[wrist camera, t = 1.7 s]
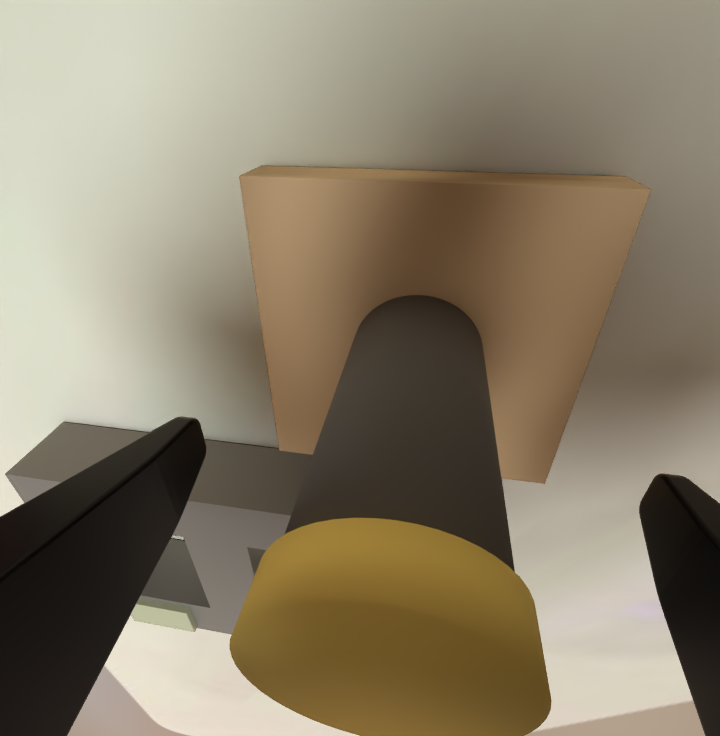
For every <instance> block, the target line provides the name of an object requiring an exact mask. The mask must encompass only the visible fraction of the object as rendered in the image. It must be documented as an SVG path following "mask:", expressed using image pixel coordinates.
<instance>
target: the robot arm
mask: <svg viewBox="0 0 720 736" xmlns="http://www.w3.org/2000/svg"><path fill="white" fill-rule="evenodd" d="M205 456H206V443H205V439H204V436H203V432H202V429H201V425H200V422H199V421H198V420H197V419H195V418H189V417H177V418H174V419H173V420H171V421H169V422H167V423H166V424H164V425H162V426H160V427H158V428H157V429H155V430H153V431H151V432H150V433H148V434H146V435H144V436H142V437H141V438H139V439H137V440H135V441H134V442H132V443H130V444H128V445H127V446H125V447H123V448H121V449H119V450H118V451H116V452H114V453H112V454H111V455H109V456H107V457H105V458H104V459H102V460H100V461H98V462H96V463H95V464H93V465H91V466H89V467H88V468H86V469H84V470H82V471H81V472H79V473H77V474H75V475H73V476H72V477H70V478H68V479H66V480H65V481H63V482H61V483H59V484H57V485H56V486H54V487H52V488H50V489H49V490H47V491H45V492H43V493H42V494H40V495H38V496H36V497H34V498H33V499H31V500H29V501H27V502H26V503H24V504H22V505H20V506H18V507H17V508H15V509H13V510H11V511H10V512H8V513H6V514H4V515H3V516H1V517H0V736H67V735H68V733H69V731H70V729H71V727H72V725H73V723H74V721H75V719H76V718H77V716H78V714H79V712H80V710H81V708H82V706H83V704H84V702H85V700H86V699H87V697H88V695H89V693H90V691H91V689H92V687H93V685H94V683H95V681H96V680H97V677H98V676H99V674H100V672H101V670H102V668H103V666H104V664H105V662H106V661H107V659H108V657H109V655H110V653H111V651H112V649H113V647H114V645H115V643H116V641H117V640H118V638H119V636H120V634H121V632H122V630H123V628H124V626H125V624H126V622H127V621H128V619H129V617H130V615H131V613H132V611H133V609H134V607H135V605H136V603H137V602H138V600H139V598H140V596H141V594H142V592H143V590H144V588H145V586H146V584H147V582H148V581H149V579H150V577H151V575H152V573H153V571H154V569H155V567H156V565H157V563H158V562H159V560H160V558H161V556H162V554H163V552H164V550H165V548H166V546H167V544H168V543H169V541H170V539H171V537H172V535H173V533H174V531H175V529H176V527H177V525H178V523H179V521H180V519H181V516H182V514H183V512H184V509H185V507H186V504H187V502H188V499H189V497H190V494H191V492H192V489H193V487H194V484H195V482H196V479H197V477H198V474H199V472H200V469H201V467H202V464H203V462H204V459H205ZM639 513H640V519H641V523H642V528H643V532H644V537H645V541H646V546H647V550H648V555H649V559H650V564H651V568H652V573H653V577H654V582H655V586H656V590H657V594H658V597H659V600H660V603H661V607H662V610H663V613H664V616H665V619H666V622H667V625H668V627H669V630H670V633H671V636H672V639H673V642H674V645H675V648H676V651H677V654H678V657H679V660H680V663H681V666H682V669H683V672H684V674H685V677H686V680H687V683H688V686H689V689H690V692H691V695H692V698H693V701H694V704H695V707H696V709H697V713H698V716H699V718H700V721H701V724H702V727H703V730H704V733H705V736H720V503H718V502H717V501H716V500H715V499H713V498H712V497H711V496H709V495H708V494H707V493H706V492H704V491H703V490H702V489H700V488H699V487H698V486H697V485H695V484H694V483H693V482H691V481H690V480H689V479H687V478H686V477H683V476H679V475H670V474H658V475H657V476H655V478H654V479H653V481H652V483H651V484H650V486H649V488H648V490H647V491H646V493H645V495H644V497H643V498H642V500H641V502H640V507H639Z"/></svg>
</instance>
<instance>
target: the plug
mask: <svg viewBox="0 0 720 736" xmlns="http://www.w3.org/2000/svg"><path fill="white" fill-rule="evenodd" d="M230 651H231V655H232V658H233V660H234V662H235V664H236V666H237V667H238V669H239V670H240V671H241V673H242V674H243V675H244V676H245V677H246V678H247V679H248V680H249V681H250V682H251V683H252V684H253V685H254V686H255V687H257V688H258V689H259V690H260V691H261V692H263V693H264V694H266V695H267V696H269V697H270V698H272V699H273V700H275V701H276V702H278V703H280V704H282V705H283V706H285V707H287V708H289V709H291V710H293V711H295V712H297V713H299V714H301V715H303V716H305V717H308V718H310V719H312V720H315V721H317V722H320V723H322V724H325V725H328V726H331V727H334V728H337V729H340V730H343V731H346V732H349V733H353V734H356V735H360V736H524V735H526V734H528V733H531V732H532V731H533V730H535V729H536V728H538V727H539V726H540V725H541V724H542V723H543V722H544V721H545V720H546V718H547V716H548V714H549V712H550V709H551V696H550V690H549V684H548V678H547V672H546V666H545V661H544V655H543V649H542V643H541V637H540V631H539V626H538V620H537V614H536V609H535V604H534V600H533V598H532V595H531V593H530V591H529V589H528V588H527V586H526V585H525V584H524V582H523V581H522V579H521V578H520V577H519V576H518V575H517V574H516V573H515V571H514V564H513V557H512V550H511V543H510V535H509V528H508V521H507V514H506V507H505V500H504V493H503V486H502V479H501V472H500V465H499V458H498V450H497V443H496V436H495V429H494V422H493V415H492V408H491V401H490V394H489V387H488V380H487V373H486V366H485V358H484V351H483V345H482V340H481V336H480V334H479V331H478V329H477V327H476V326H475V324H474V323H473V321H472V320H471V319H470V317H469V316H468V315H466V314H465V313H464V312H463V311H462V310H461V309H459V308H458V307H457V306H455V305H453V304H451V303H449V302H447V301H445V300H442V299H440V298H436V297H432V296H425V295H408V296H401V297H397V298H394V299H391V300H388V301H386V302H384V303H382V304H380V305H379V306H377V307H376V308H374V309H373V310H372V311H371V312H370V313H369V314H368V315H367V316H366V317H365V318H364V319H363V321H362V322H361V324H360V325H359V327H358V329H357V332H356V335H355V337H354V340H353V343H352V346H351V349H350V351H349V354H348V357H347V360H346V363H345V365H344V368H343V371H342V374H341V377H340V379H339V382H338V385H337V388H336V391H335V394H334V396H333V399H332V402H331V405H330V408H329V410H328V413H327V416H326V419H325V422H324V424H323V427H322V430H321V433H320V436H319V438H318V441H317V444H316V447H315V450H314V453H313V455H312V458H311V461H310V464H309V467H308V469H307V472H306V475H305V478H304V481H303V483H302V486H301V489H300V492H299V495H298V497H297V500H296V503H295V506H294V509H293V511H292V514H291V517H290V520H289V523H288V526H287V528H286V531H285V534H284V535H283V536H282V537H280V538H279V539H277V540H276V541H275V542H274V543H272V544H271V545H270V546H269V547H268V548H267V550H266V551H265V553H264V554H263V556H262V558H261V560H260V563H259V566H258V568H257V571H256V573H255V576H254V579H253V581H252V584H251V586H250V589H249V591H248V594H247V597H246V599H245V602H244V604H243V607H242V610H241V612H240V615H239V617H238V620H237V622H236V625H235V628H234V630H233V633H232V636H231V638H230Z"/></svg>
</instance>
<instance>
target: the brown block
mask: <svg viewBox="0 0 720 736" xmlns="http://www.w3.org/2000/svg"><path fill="white" fill-rule="evenodd" d="M239 178H240V184H241V191H242V198H243V205H244V212H245V219H246V225H247V232H248V239H249V246H250V253H251V260H252V266H253V273H254V280H255V287H256V294H257V301H258V307H259V314H260V321H261V328H262V335H263V342H264V349H265V355H266V362H267V369H268V376H269V383H270V390H271V396H272V403H273V410H274V417H275V424H276V431H277V437H278V444H279V451H287V452H295V453H303V454H311V455H313V453H314V450H315V447H316V444H317V441H318V438H319V436H320V433H321V430H322V427H323V424H324V422H325V419H326V416H327V413H328V410H329V408H330V405H331V402H332V399H333V396H334V394H335V391H336V388H337V385H338V382H339V379H340V377H341V374H342V371H343V368H344V365H345V363H346V360H347V357H348V354H349V351H350V349H351V346H352V343H353V340H354V337H355V335H356V332H357V329H358V327H359V325H360V324H361V322H362V321H363V319H364V318H365V317H366V316H367V315H368V314H369V313H370V312H371V311H372V310H373V309H374V308H376V307H377V306H379V305H380V304H382V303H384V302H386V301H388V300H391V299H394V298H397V297H401V296H408V295H425V296H432V297H436V298H440V299H442V300H445V301H447V302H449V303H451V304H453V305H455V306H457V307H458V308H459V309H461V310H462V311H463V312H464V313H465V314H466V315H468V316H469V317H470V319H471V320H472V321H473V323H474V324H475V326H476V327H477V329H478V331H479V334H480V336H481V340H482V345H483V351H484V358H485V366H486V373H487V380H488V387H489V394H490V401H491V408H492V415H493V422H494V429H495V436H496V443H497V450H498V458H499V465H500V472H501V478H504V479H512V480H520V481H528V482H536V483H544V484H545V482H546V479H547V476H548V473H549V471H550V468H551V465H552V462H553V459H554V457H555V454H556V451H557V448H558V446H559V443H560V440H561V437H562V435H563V432H564V429H565V426H566V424H567V421H568V418H569V415H570V413H571V410H572V407H573V404H574V401H575V399H576V396H577V393H578V390H579V388H580V385H581V382H582V379H583V377H584V374H585V371H586V368H587V366H588V363H589V360H590V357H591V355H592V352H593V349H594V346H595V343H596V341H597V338H598V335H599V332H600V330H601V327H602V324H603V321H604V319H605V316H606V313H607V310H608V308H609V305H610V302H611V299H612V296H613V294H614V291H615V288H616V285H617V283H618V280H619V277H620V274H621V272H622V269H623V266H624V263H625V261H626V258H627V255H628V252H629V250H630V247H631V244H632V241H633V238H634V236H635V233H636V230H637V227H638V225H639V222H640V219H641V216H642V214H643V211H644V208H645V205H646V203H647V200H648V197H649V194H650V192H651V189H649V188H647V187H645V186H643V185H642V184H640V183H638V182H636V181H634V180H632V179H630V178H628V177H626V176H597V175H563V174H529V173H495V172H461V171H427V170H393V169H359V168H325V167H292V166H260V167H258V168H255V169H253V170H251V171H249V172H247V173H245V174H242V175H240V176H239Z"/></svg>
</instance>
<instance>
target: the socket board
mask: <svg viewBox="0 0 720 736" xmlns="http://www.w3.org/2000/svg"><path fill="white" fill-rule="evenodd" d="M146 434H148V433H147V432H139V431H131V430H123V429H115V428H106V427H98V426H90V425H82V424H74V423H66V422H63V423H62V424H61V425H59V426H58V427H57V428H56V429H55V430H54V431H53V432H52V433H50V434H49V435H48V436H47V437H46V438H45V439H44V440H43V441H42V442H40V443H39V444H38V445H37V446H36V447H35V448H34V449H33V450H31V451H30V452H29V453H28V454H27V455H26V456H25V457H24V458H22V459H21V460H20V461H19V462H18V463H17V464H16V465H15V466H13V467H12V468H11V469H10V470H9V471H8V472H7V473H6V474H5V475H6V476H7V478H8V479H9V481H10V482H11V484H12V485H13V487H14V488H15V490H16V491H17V493H18V494H19V496H20V497H21V498H22V500H23V501H24V503H26V502H27V501H29V500H31V499H33V498H34V497H36V496H38V495H40V494H42V493H43V492H45V491H47V490H49V489H50V488H52V487H54V486H56V485H57V484H59V483H61V482H63V481H65V480H66V479H68V478H70V477H72V476H73V475H75V474H77V473H79V472H81V471H82V470H84V469H86V468H88V467H89V466H91V465H93V464H95V463H96V462H98V461H100V460H102V459H104V458H105V457H107V456H109V455H111V454H112V453H114V452H116V451H118V450H119V449H121V448H123V447H125V446H127V445H128V444H130V443H132V442H134V441H135V440H137V439H139V438H141V437H142V436H144V435H146ZM205 443H206V456H205V459H204V462H203V464H202V467H201V469H200V472H199V474H198V477H197V479H196V482H195V484H194V487H193V489H192V492H191V494H190V497H189V499H188V502H187V504H186V507H185V509H184V512H183V514H182V516H181V519H180V521H179V523H178V525H177V527H176V529H175V531H174V533H173V535H175V536H181V537H184V540H185V541H182V540H176V539H170V541H169V543H168V544H167V546H166V548H165V550H164V552H163V554H162V556H161V558H160V560H159V562H158V563H157V565H156V567H155V569H154V571H153V573H152V575H151V577H150V579H149V581H148V582H147V584H146V586H145V588H144V590H143V592H142V594H141V596H140V598H139V600H138V602H137V603H136V605H135V607H134V609H133V611H132V613H131V616H132V618H133V619H134V621H139V622H144V623H149V624H154V625H160V626H165V627H170V628H175V629H181V630H186V631H191V632H195V631H196V628H200V629H206V630H211V631H216V632H222V633H227V634H232V633H233V630H234V628H235V625H236V622H237V620H238V617H239V615H240V612H241V610H242V607H243V604H244V602H245V599H246V597H247V594H248V591H249V589H250V586H251V584H252V581H253V579H254V576H255V573H256V571H257V568H258V566H259V563H260V560H261V558H262V556H263V554H264V553H265V551H266V550H267V548H268V547H269V546H270V545H271V544H272V543H274V542H275V541H276V540H277V539H279V538H280V537H282V536H283V535H284V534H285V531H286V528H287V526H288V523H289V520H290V517H291V514H292V511H293V509H294V506H295V503H296V500H297V497H298V495H299V492H300V489H301V486H302V483H303V481H304V478H305V475H306V472H307V469H308V467H309V464H310V461H311V458H312V455H311V454H303V453H295V452H287V451H279V449H276V448H268V447H260V446H252V445H244V444H236V443H228V442H219V441H211V440H205Z"/></svg>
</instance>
